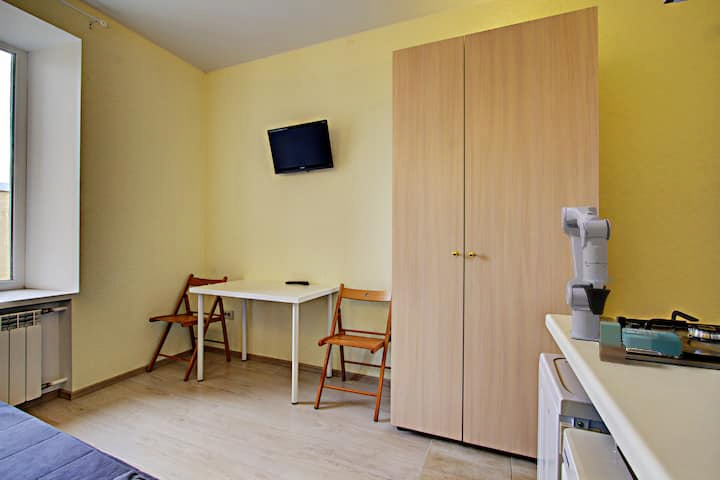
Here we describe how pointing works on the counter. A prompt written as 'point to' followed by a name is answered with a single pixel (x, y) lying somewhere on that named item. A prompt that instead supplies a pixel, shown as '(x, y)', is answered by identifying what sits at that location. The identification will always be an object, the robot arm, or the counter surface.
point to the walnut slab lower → (612, 358)
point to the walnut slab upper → (612, 349)
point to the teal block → (610, 333)
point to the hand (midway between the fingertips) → (596, 312)
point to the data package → (652, 341)
